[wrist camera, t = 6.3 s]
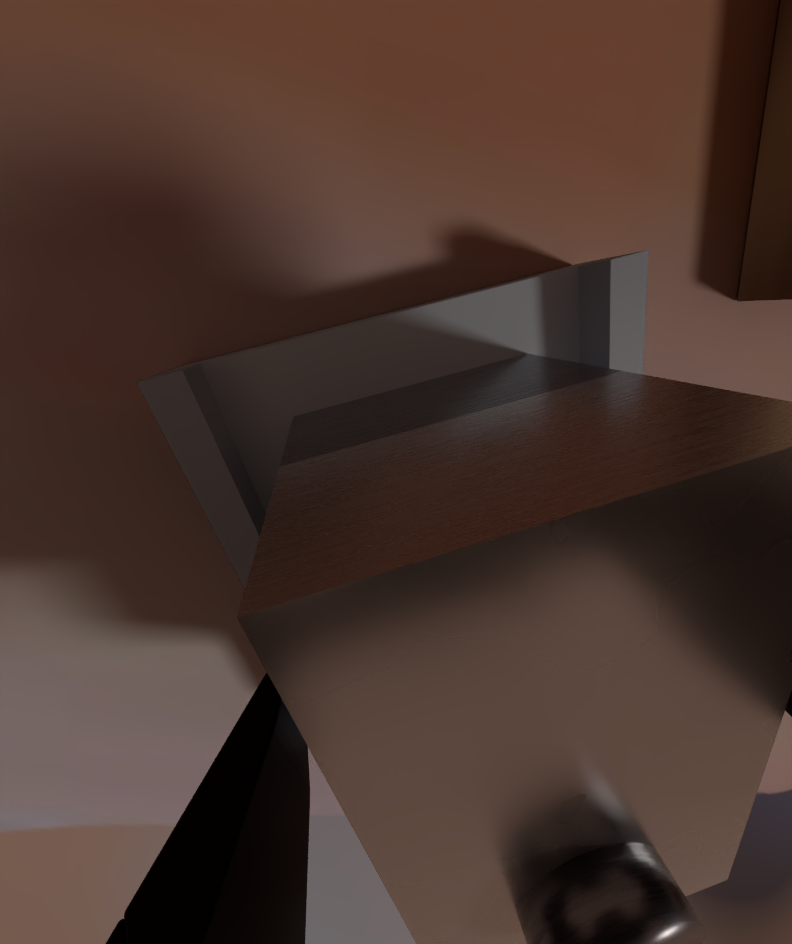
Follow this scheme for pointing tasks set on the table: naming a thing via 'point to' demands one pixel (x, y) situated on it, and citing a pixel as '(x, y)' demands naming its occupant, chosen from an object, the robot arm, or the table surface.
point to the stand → (773, 182)
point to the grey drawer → (535, 639)
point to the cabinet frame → (378, 375)
